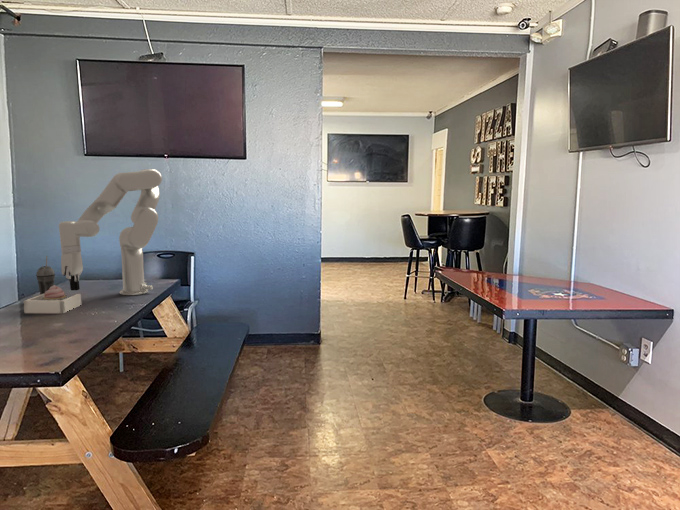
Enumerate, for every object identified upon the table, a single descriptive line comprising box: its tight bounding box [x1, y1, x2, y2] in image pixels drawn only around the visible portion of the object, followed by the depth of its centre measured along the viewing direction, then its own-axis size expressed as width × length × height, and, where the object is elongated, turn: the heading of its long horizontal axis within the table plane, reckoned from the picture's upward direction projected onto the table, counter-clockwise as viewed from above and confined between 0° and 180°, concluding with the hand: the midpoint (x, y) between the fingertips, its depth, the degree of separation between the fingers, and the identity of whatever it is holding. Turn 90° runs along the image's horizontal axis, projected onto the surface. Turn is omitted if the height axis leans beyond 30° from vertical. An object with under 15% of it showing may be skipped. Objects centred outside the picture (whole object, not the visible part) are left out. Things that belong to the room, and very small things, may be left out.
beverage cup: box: [35, 255, 56, 295], centre depth 216 cm, size 7×7×20 cm
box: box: [23, 293, 82, 314], centre depth 203 cm, size 15×14×5 cm
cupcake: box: [42, 284, 68, 301], centre depth 203 cm, size 9×9×10 cm
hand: (75, 289), depth 218 cm, fingers closed
